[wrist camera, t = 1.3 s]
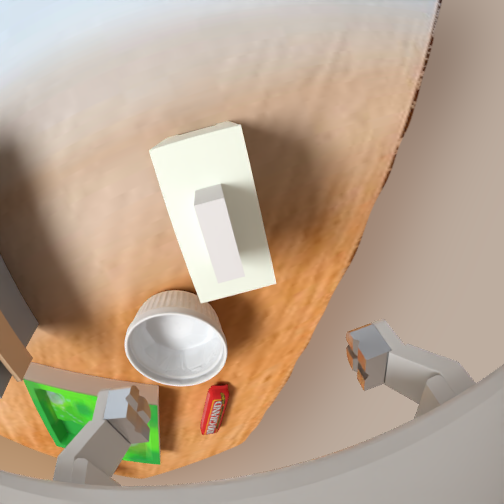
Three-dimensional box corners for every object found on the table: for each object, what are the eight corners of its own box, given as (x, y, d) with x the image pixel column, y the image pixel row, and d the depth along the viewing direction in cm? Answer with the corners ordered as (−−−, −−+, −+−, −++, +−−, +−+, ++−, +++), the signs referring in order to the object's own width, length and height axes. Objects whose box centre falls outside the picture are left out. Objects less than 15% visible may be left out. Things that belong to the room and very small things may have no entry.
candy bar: (216, 427, 56) (217, 438, 54) (199, 426, 55) (199, 438, 53) (230, 380, 50) (232, 393, 47) (209, 379, 49) (210, 392, 46)
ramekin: (118, 328, 42) (109, 360, 35) (160, 263, 38) (153, 293, 32) (192, 364, 47) (193, 397, 40) (242, 310, 43) (249, 343, 37)
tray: (159, 383, 48) (157, 405, 44) (160, 446, 58) (160, 464, 54) (31, 359, 43) (23, 378, 38) (60, 429, 53) (56, 445, 48)
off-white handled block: (167, 137, 32) (138, 158, 17) (228, 120, 32) (248, 127, 18) (200, 247, 38) (201, 332, 24) (254, 232, 38) (287, 309, 24)
